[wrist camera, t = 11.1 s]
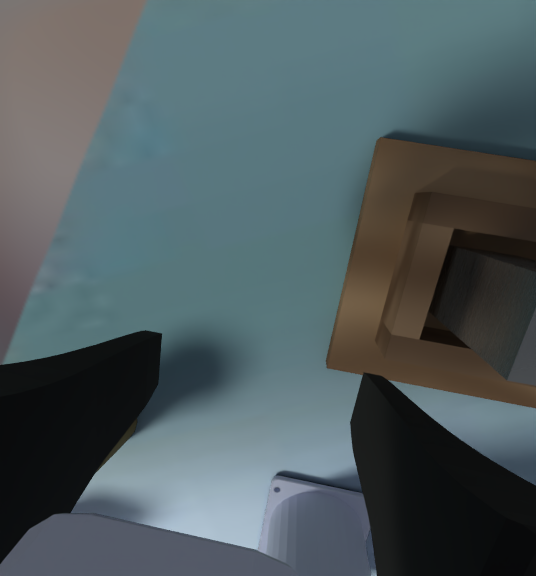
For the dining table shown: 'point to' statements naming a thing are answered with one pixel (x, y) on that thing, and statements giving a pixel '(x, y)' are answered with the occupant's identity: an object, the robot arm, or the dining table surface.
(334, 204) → the dining table surface
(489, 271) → the metal pin
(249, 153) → the dining table surface
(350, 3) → the dining table surface
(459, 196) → the socket holder
